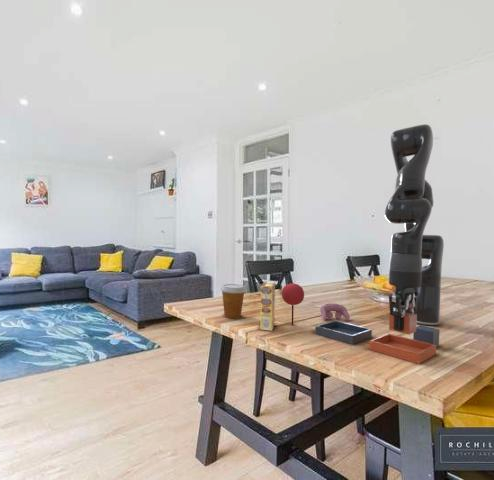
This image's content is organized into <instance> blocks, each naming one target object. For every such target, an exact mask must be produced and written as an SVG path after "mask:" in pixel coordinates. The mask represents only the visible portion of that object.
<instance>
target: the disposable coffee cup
mask: <svg viewBox="0 0 494 480" xmlns="http://www.w3.org/2000/svg"><path fill="white" fill-rule="evenodd" d="M220 290H221V292H222V293H221V294H222V304H223V314H224V317H225V318H229V319H239V318H241V317H242V311H243V310H242V309H243V304H244V296H245V292H246V288H245V285H244V284H237V283H225V284H222V285H221V288H220Z"/></svg>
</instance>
